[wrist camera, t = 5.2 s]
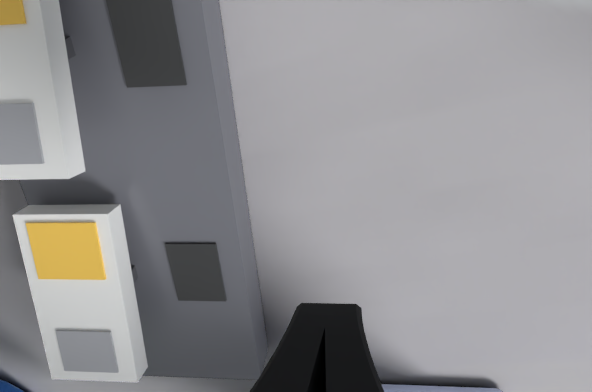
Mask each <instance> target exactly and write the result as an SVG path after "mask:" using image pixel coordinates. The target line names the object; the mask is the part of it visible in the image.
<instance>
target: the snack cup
mask: <svg viewBox="0 0 592 392" xmlns="http://www.w3.org/2000/svg"><path fill="white" fill-rule="evenodd" d="M0 392H24V391H22V390H21V389H19V388H17V387H15V386H13V385H12V384H10V383H8V382H7V381H3V380H0Z"/></svg>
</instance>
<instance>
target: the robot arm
mask: <svg viewBox="0 0 592 392" xmlns="http://www.w3.org/2000/svg"><path fill="white" fill-rule="evenodd" d="M250 392H503V391H502V390H500V389H496V388H476V387H448V386H421V385H394V384H381V382H380V380H379V377H378V374H377V371H376V369H375V366H374V363H373V360H372V357H371V354H370V351H369V348H368V344H367V340H366V337H365V332H364V328H363V322H362V312H361V308H360V307H359V306H358V305H357V304H321V303H301V304H300V305H299V306H297V308H296V310H295V313H294V315H293V317H292V320H291V322H290V324H289V326H288V328H287V330H286V332H285V334H284V336H283V338H282V340H281V341H280V343H279V345H278V347H277V349H276V351H275V352H274V354H273V356H272V357H271V359H270V361H269V362H268V364H267V366H266V367H265V369H264V371H263V372H262V374H261V376H260V377H259V379H258V380H257V382H256V383H255V385H254V386H253V388H252V389H251V390H250Z"/></svg>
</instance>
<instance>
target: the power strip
mask: <svg viewBox="0 0 592 392" xmlns="http://www.w3.org/2000/svg"><path fill="white" fill-rule="evenodd" d="M59 5H60V12H61V18H62V24H63V31H64V37H65V43H66V50H67V56H68V62H69V69H70V75H71V82H72V88H73V94H74V101H75V107H76V113H77V120H78V126H79V132H80V139H81V145H82V151H83V158H84V164H85V172H83V173H81V174H78V175H76V176H74V177H72V178H70V179H29V180H19V182H20V184H21V187H22V190H23V192H24V195H25V198H26V200H27V203H28V205H88V204H120V205H121V211H122V217H123V223H124V229H125V234H126V240H127V246H128V252H129V258H130V264H131V270H132V276H133V282H134V288H135V293H136V299H137V305H138V311H139V317H140V323H141V329H142V335H143V341H144V346H145V352H146V358H147V364H148V367H147V369H146V371H145V372H144V374H143V375H142V376H166V377H193V378H220V379H248V380H258V379H259V377H260V376H261V374H262V372H263V368H264V363H265V359H266V354H267V349H268V343H267V336H266V328H265V321H264V314H263V307H262V300H261V293H260V286H259V279H258V272H257V265H256V258H255V251H254V244H253V237H252V230H251V223H250V216H249V209H248V202H247V195H246V188H245V181H244V174H243V167H242V160H241V153H240V146H239V139H238V132H237V125H236V118H235V111H234V104H233V97H232V90H231V83H230V76H229V69H228V61H227V54H226V47H225V40H224V33H223V26H222V19H221V12H220V5H219V0H59Z"/></svg>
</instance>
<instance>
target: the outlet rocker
mask: <svg viewBox="0 0 592 392" xmlns="http://www.w3.org/2000/svg"><path fill="white" fill-rule="evenodd" d="M83 172H85V164H84V158H83V151H82V145H81V139H80V132H79V126H78V120H77V113H76V107H75V101H74V94H73V88H72V82H71V75H70V69H69V62H68V56H67V50H66V43H65V37H64V31H63V24H62V18H61V12H60V5H59V0H0V180H29V179H70V178H72V177H74V176H76V175H78V174H81V173H83Z"/></svg>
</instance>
